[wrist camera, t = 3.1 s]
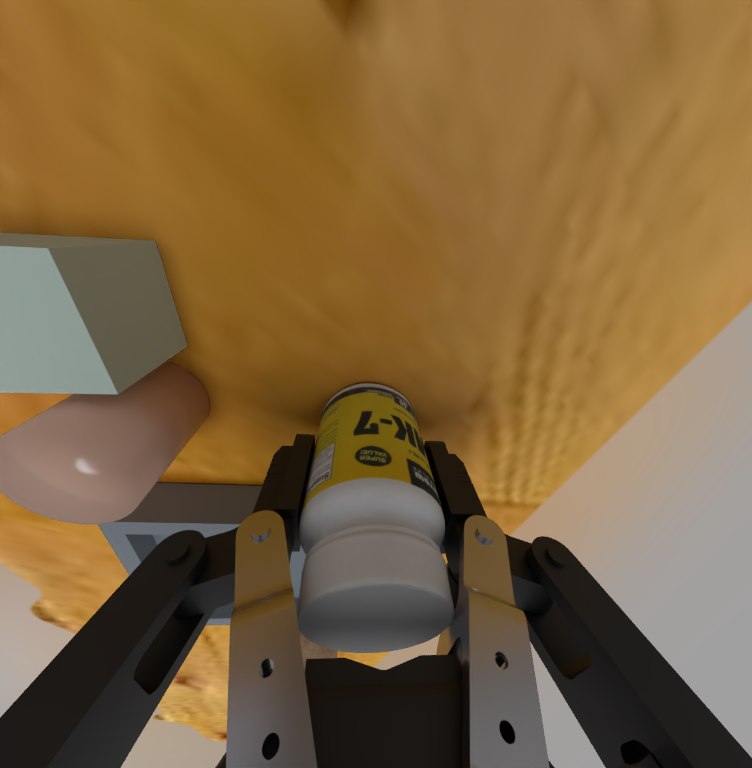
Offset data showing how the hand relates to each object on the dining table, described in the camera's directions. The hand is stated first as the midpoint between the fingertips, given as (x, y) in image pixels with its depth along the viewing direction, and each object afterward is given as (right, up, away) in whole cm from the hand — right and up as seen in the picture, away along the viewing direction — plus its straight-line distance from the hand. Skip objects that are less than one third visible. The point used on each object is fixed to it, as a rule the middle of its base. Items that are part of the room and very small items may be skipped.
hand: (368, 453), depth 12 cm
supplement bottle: (0, +1, +2) cm, 3 cm away
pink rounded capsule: (-10, +2, +1) cm, 10 cm away
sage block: (-10, +6, -1) cm, 12 cm away
